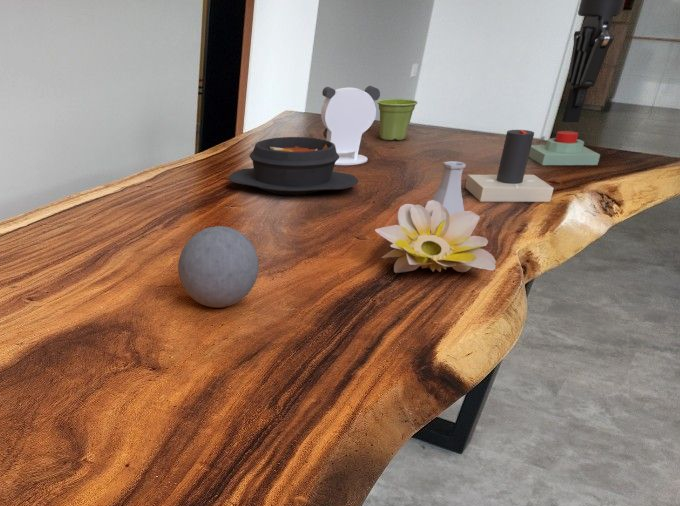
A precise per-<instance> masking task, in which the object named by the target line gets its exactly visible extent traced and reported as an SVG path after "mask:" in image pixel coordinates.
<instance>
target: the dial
mask: <svg viewBox="0 0 680 506" xmlns="http://www.w3.org/2000/svg"><path fill="white" fill-rule="evenodd" d="M534 136H535V132H534V131H533V130H528V129H527V130H526V129H510V130H507V131H506V135H505V139H504V144H503V148H502V153H501V157H500V162H499V165H498V170H497V174H496V175H497V179H496V180H497V181H499V182H503V183H512V184H514V183H521V182H523V178H524V175H526V169H527V165H528V161H529V158H530V157H529V153H530V149H531V145H533V142H534V141H533V140H534Z"/></svg>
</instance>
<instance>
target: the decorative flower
mask: <svg viewBox="0 0 680 506" xmlns="http://www.w3.org/2000/svg"><path fill="white" fill-rule="evenodd" d="M397 221H398V224H393V225H388V226H383V227H378V228H375V229H374V231H375V232H376V233H377V235H379V236H381V238H383V239H385V240H386V241H388V242H390V243H391V244H390V248H392V250H390V251H389V252H387V253H386V254H385V255H383V256H381V257H380V258H381V259H383V260H386V259H387V260H388V259H391V258H397V259H396V261H395V263H394V265H393V272H394V273H396V274H398V273H407V272H412V271H415V270H418V268H419V267H421V269H430V270H431V271H432V272H433V273H434V272H435V270H437V272H439V273H441V271H442V269H444V270H447V268H452V269H453V270H455V271H456V272H460V273H465V272H468V271H470V269H472V268H474V269H480V270H488V271H495V270H496V262H497V261H496V259H495V257H494V256H493V254H492V253H490V252H489V251H488V250H486V249H484V248H482V247H486V246H487V245H488V244H489V241H488V239H487V237H484V236H479V235H477V236H476V235H472V234H473V232H474V230H475V228H476V227H477V225H478V222H479V221H480V216H479V214H477V213H476V212H474V211H472V210H464V211H461V212H458V213H454V214H452V215H451V216H449V213H448V211H447V209H446V208H445V207H442V205H441V204H440V203H439V202H437V201H434V200H432V199H431V200H427V202H426V205H425V207H424V206H423V205H421V204H413V203H404V204H403V205H401V206H399V209H398V210H397Z"/></svg>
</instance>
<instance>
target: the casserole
mask: <svg viewBox="0 0 680 506" xmlns="http://www.w3.org/2000/svg"><path fill="white" fill-rule="evenodd" d="M248 156H249V159H251V161H252V167H251V168H250V167H249V168H248V167H247V168H241V169H238V170H235V171H234V172H232V173H230V174H229V176H228V177H227V178H228V180H229V182H231V183H233V184H236V185H242V186H248V187H253V188H259V189H261V190H263V191H266V192H268V193H272V194H277V195H284V196H301V195H302V196H303V195H310V194H314V193H318V192H322V191H342V190H343V191H345V190H347V189H348V190H349V189H351V188H353V187H355V186H356V185H357V184H358V183H359V179H358V178H357V177H356V176H355V175H354V174H350V173H347V172H345V173H344V172H338V171H334V168H335V166H336V165H335V162H336V161H337V160H338V159H339V155H338V154H337V152H336V148H335V144H334V143H332V142H329V141H326V139H323V138H322V139H321V138H315V137H308V136H307V137H304V136H281V137H272V138H267V139H263V140H260V141H257V142H256V143H255V145H254V148H253V150H252V151H251V152H250V153H249V155H248Z"/></svg>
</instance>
